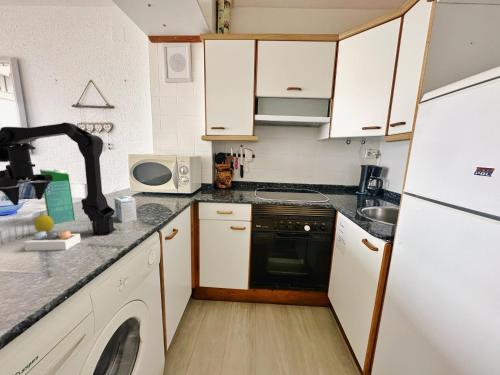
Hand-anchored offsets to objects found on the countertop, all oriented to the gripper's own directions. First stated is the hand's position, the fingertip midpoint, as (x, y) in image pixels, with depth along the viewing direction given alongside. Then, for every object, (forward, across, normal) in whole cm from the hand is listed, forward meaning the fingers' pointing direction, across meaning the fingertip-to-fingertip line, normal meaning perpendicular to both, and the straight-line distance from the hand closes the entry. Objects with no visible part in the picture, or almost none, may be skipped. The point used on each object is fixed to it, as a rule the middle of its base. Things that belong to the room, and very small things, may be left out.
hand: (28, 202), depth 81 cm
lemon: (+14, -2, +3) cm, 14 cm away
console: (+14, +10, +16) cm, 23 cm away
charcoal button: (+12, +10, +16) cm, 22 cm away
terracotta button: (+12, +10, +20) cm, 25 cm away
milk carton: (+14, -19, -4) cm, 24 cm away
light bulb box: (+14, -20, +26) cm, 35 cm away
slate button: (+12, +10, +12) cm, 19 cm away
